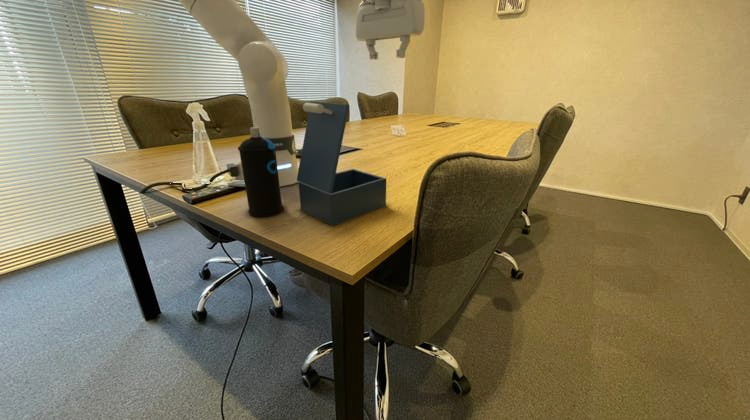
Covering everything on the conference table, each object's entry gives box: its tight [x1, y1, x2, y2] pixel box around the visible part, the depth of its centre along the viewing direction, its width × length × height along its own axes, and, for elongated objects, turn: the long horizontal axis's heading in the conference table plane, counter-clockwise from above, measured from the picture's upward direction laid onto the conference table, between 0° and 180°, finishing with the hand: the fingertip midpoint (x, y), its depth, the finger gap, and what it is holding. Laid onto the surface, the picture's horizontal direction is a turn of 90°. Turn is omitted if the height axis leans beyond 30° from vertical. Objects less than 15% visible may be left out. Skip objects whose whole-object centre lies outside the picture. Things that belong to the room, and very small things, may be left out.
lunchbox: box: [297, 168, 387, 227], centre depth 76 cm, size 18×13×7 cm
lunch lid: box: [297, 101, 350, 193], centre depth 65 cm, size 18×13×5 cm
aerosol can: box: [237, 126, 284, 218], centre depth 71 cm, size 8×8×20 cm
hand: (386, 58), depth 78 cm, fingers open, 8 cm apart
